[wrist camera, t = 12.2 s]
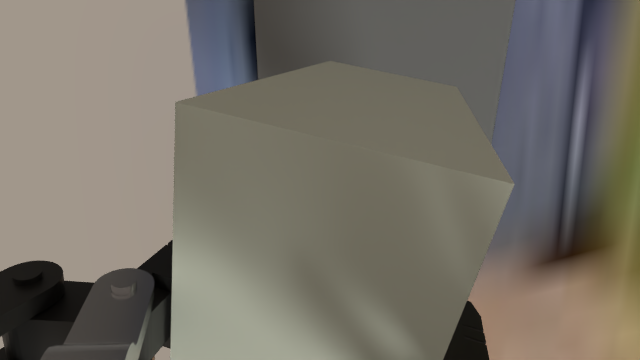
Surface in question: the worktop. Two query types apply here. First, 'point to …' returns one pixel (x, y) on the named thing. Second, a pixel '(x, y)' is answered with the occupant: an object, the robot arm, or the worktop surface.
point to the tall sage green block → (328, 217)
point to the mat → (394, 41)
